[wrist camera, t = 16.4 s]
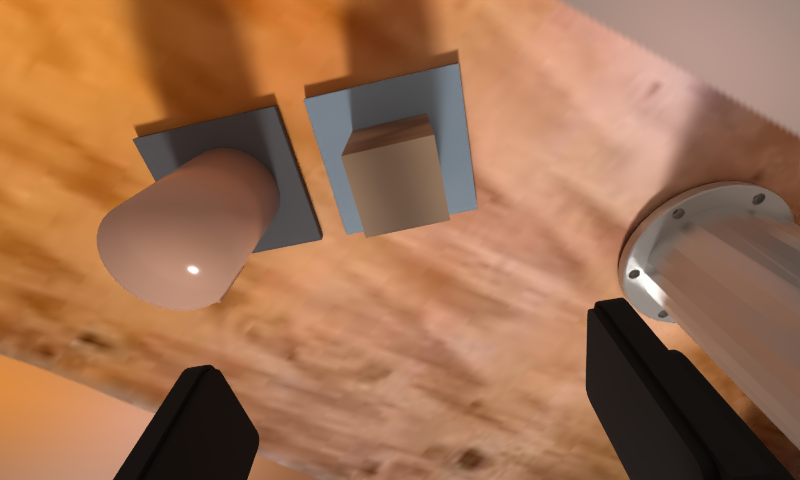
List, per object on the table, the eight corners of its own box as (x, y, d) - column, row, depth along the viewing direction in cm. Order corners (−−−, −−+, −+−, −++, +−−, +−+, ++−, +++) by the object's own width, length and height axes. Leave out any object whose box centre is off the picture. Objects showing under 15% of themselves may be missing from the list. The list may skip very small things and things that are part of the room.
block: (426, 112, 25) (434, 134, 20) (439, 183, 27) (450, 220, 22) (352, 130, 25) (340, 156, 20) (371, 198, 28) (366, 237, 22)
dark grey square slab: (276, 104, 25) (274, 106, 25) (322, 236, 30) (321, 239, 29) (137, 137, 26) (132, 139, 25) (203, 259, 31) (200, 263, 30)
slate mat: (457, 62, 24) (458, 63, 23) (475, 205, 29) (477, 209, 28) (305, 98, 25) (303, 99, 24) (347, 231, 30) (346, 234, 29)
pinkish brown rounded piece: (265, 142, 26) (205, 193, 18) (293, 241, 29) (254, 320, 21) (170, 153, 26) (70, 207, 18) (210, 250, 30) (142, 330, 22)
